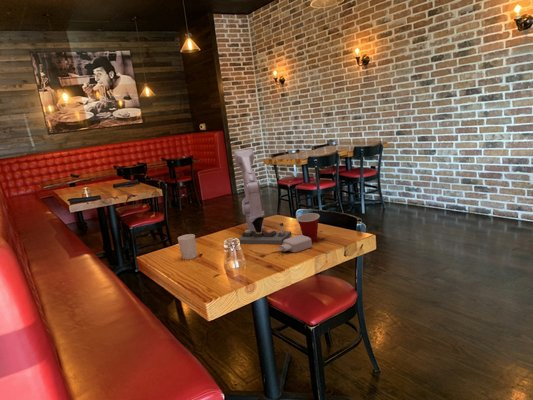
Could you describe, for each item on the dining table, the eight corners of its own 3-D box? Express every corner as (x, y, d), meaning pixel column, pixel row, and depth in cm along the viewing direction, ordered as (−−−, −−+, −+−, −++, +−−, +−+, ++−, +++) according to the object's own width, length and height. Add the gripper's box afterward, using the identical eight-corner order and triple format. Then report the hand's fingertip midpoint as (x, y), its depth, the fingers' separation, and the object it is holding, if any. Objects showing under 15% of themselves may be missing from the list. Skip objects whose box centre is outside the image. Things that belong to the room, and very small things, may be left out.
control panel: (248, 234, 211) (248, 227, 210) (291, 235, 201) (290, 227, 200) (236, 243, 198) (235, 236, 198) (281, 244, 188) (280, 236, 188)
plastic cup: (296, 244, 186) (293, 219, 184) (302, 237, 196) (300, 213, 193) (318, 244, 182) (316, 219, 179) (324, 237, 191) (322, 212, 189)
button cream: (257, 234, 202) (257, 231, 202) (263, 234, 201) (263, 231, 201) (255, 236, 199) (254, 233, 199) (260, 236, 198) (260, 233, 198)
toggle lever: (280, 232, 196) (280, 222, 197) (283, 232, 196) (284, 222, 197) (278, 232, 195) (279, 222, 196) (282, 232, 194) (282, 222, 195)
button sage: (246, 232, 205) (246, 229, 204) (252, 232, 203) (252, 229, 203) (244, 234, 202) (243, 231, 201) (249, 234, 200) (249, 231, 200)
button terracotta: (268, 232, 200) (267, 229, 199) (274, 232, 198) (273, 229, 198) (265, 234, 197) (265, 231, 196) (271, 234, 196) (271, 231, 195)
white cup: (201, 254, 189) (197, 234, 187) (192, 260, 182) (189, 239, 180) (186, 254, 192) (183, 234, 190) (177, 260, 184) (174, 239, 182)
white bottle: (273, 252, 179) (300, 243, 187) (284, 257, 172) (312, 248, 179) (272, 242, 178) (299, 234, 186) (283, 246, 171) (311, 237, 178)
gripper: (256, 209, 189) (260, 236, 192) (268, 202, 202) (271, 227, 205) (243, 209, 192) (247, 236, 195) (255, 202, 205) (259, 227, 208)
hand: (258, 232), depth 200 cm, fingers closed, pressing on button cream
